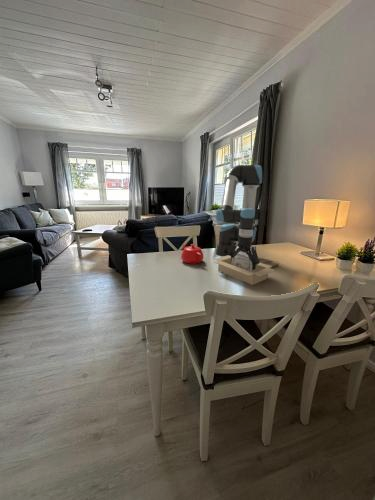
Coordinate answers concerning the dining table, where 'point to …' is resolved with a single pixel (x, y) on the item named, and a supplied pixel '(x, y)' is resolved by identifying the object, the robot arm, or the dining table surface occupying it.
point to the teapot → (192, 254)
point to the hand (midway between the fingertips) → (241, 271)
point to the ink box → (242, 262)
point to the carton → (242, 274)
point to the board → (268, 263)
